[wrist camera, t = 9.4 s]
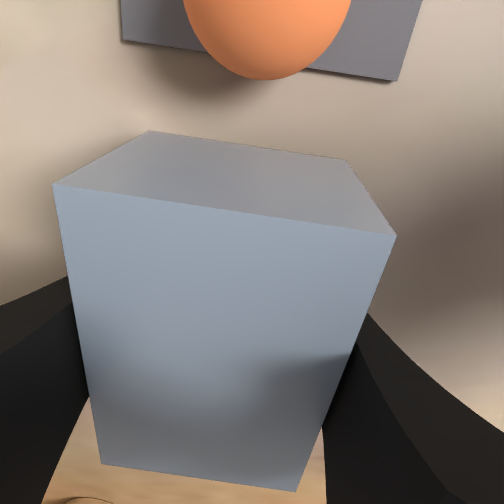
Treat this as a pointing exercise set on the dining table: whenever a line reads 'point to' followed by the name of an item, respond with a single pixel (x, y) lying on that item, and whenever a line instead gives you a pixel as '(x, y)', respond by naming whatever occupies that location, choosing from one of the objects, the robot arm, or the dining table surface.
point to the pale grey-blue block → (217, 301)
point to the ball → (266, 33)
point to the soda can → (87, 501)
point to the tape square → (332, 59)
